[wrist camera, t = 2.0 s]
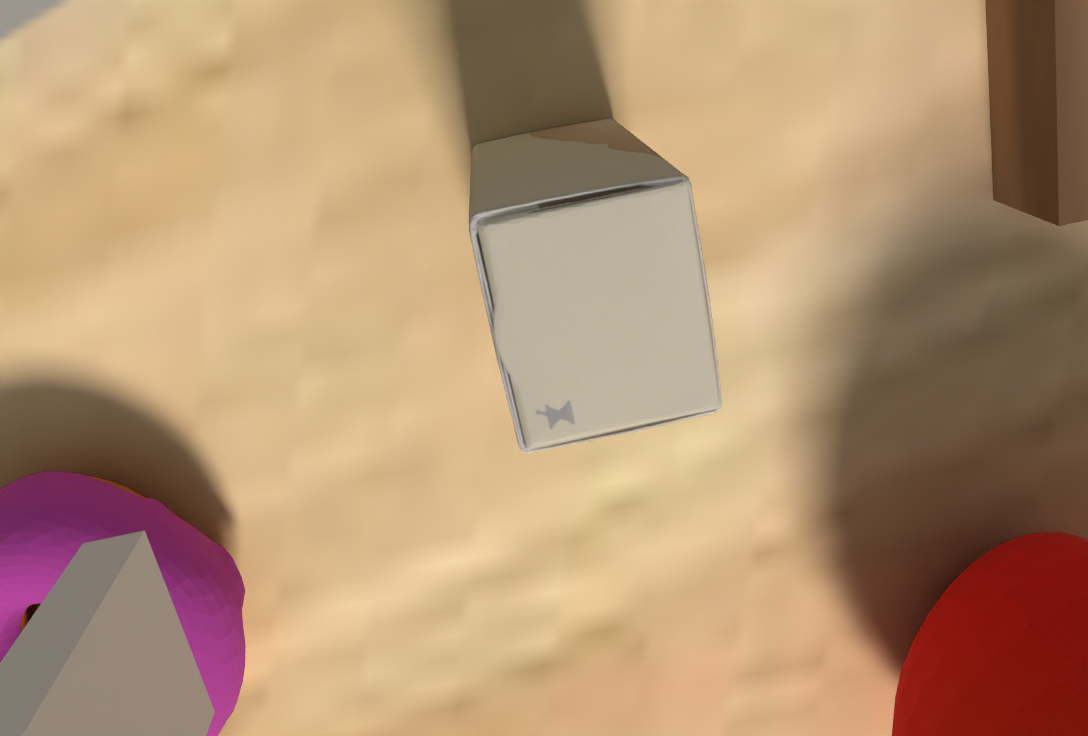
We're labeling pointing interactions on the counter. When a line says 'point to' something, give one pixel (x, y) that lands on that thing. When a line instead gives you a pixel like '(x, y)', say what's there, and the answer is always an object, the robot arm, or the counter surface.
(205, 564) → the donut
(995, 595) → the tomato
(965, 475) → the counter surface
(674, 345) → the box
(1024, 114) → the walnut block
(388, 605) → the counter surface
